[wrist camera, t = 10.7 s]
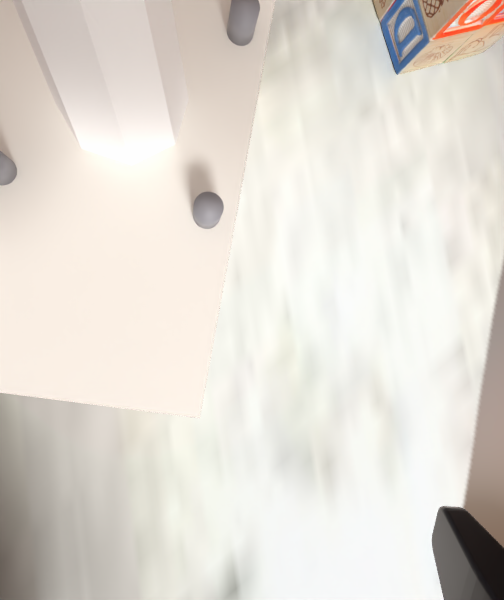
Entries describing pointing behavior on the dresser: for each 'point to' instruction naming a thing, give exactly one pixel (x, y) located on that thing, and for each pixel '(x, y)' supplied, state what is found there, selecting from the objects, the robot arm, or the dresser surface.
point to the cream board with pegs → (123, 225)
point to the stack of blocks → (438, 30)
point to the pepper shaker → (111, 71)
